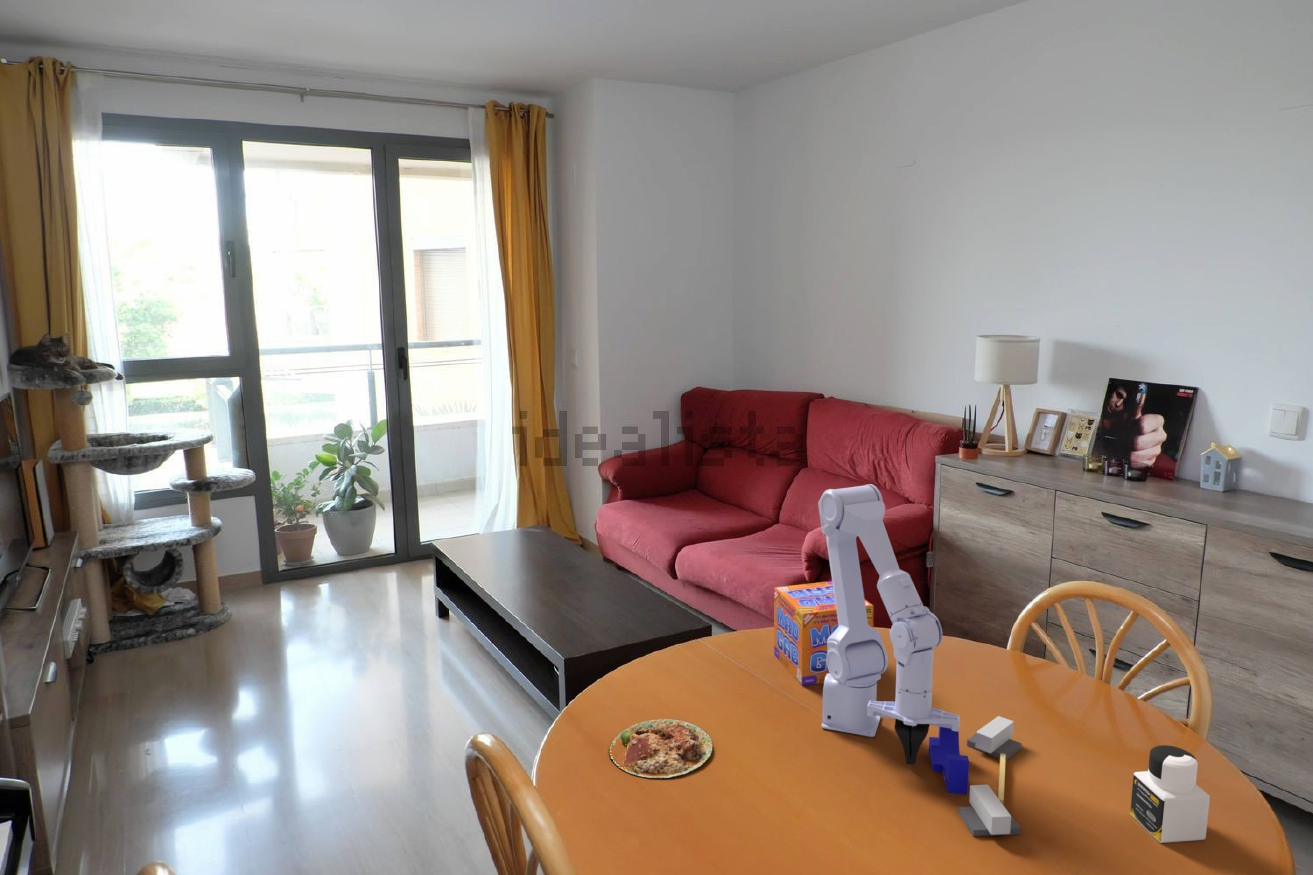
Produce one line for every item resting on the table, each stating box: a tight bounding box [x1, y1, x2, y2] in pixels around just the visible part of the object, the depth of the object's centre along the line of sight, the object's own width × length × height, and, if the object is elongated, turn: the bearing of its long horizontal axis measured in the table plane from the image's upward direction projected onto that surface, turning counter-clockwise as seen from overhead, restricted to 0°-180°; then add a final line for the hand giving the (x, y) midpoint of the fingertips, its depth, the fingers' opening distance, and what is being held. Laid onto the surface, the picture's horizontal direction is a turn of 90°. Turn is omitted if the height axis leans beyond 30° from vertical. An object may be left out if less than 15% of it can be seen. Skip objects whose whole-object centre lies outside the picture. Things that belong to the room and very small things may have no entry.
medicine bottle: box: [1129, 744, 1211, 844], centre depth 128 cm, size 7×7×12 cm
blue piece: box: [928, 726, 970, 796], centre depth 143 cm, size 12×4×6 cm, turn 169°
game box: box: [773, 580, 875, 687], centre depth 182 cm, size 16×16×16 cm
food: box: [608, 718, 713, 780], centre depth 152 cm, size 18×18×3 cm
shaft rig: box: [958, 715, 1022, 837], centre depth 140 cm, size 9×31×4 cm, turn 157°
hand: (911, 761), depth 145 cm, fingers closed
